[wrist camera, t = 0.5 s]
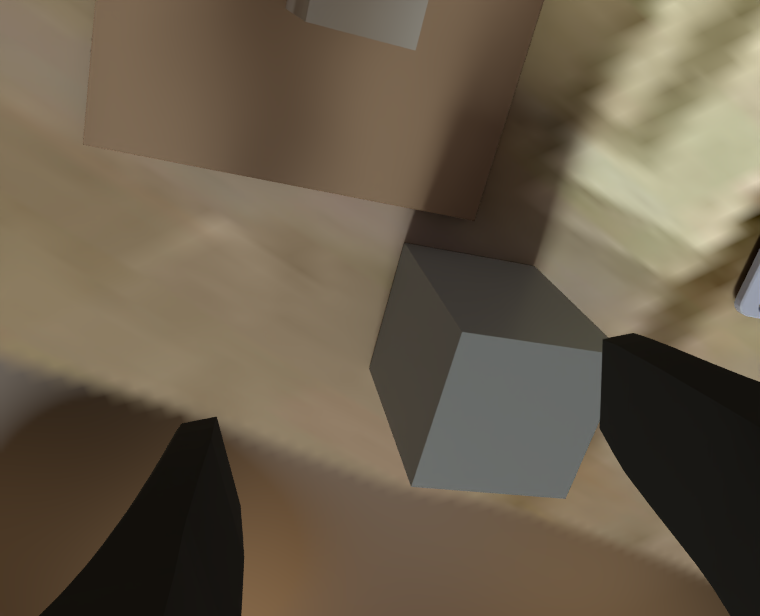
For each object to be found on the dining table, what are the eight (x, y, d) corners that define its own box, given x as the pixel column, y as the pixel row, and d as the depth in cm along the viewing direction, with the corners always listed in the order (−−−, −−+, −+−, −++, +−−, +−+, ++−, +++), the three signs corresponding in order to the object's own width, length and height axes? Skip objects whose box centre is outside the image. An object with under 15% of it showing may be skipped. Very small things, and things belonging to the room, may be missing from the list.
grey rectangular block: (534, 266, 23) (627, 356, 17) (492, 384, 24) (565, 498, 19) (404, 242, 22) (461, 332, 16) (369, 368, 23) (411, 486, 18)
